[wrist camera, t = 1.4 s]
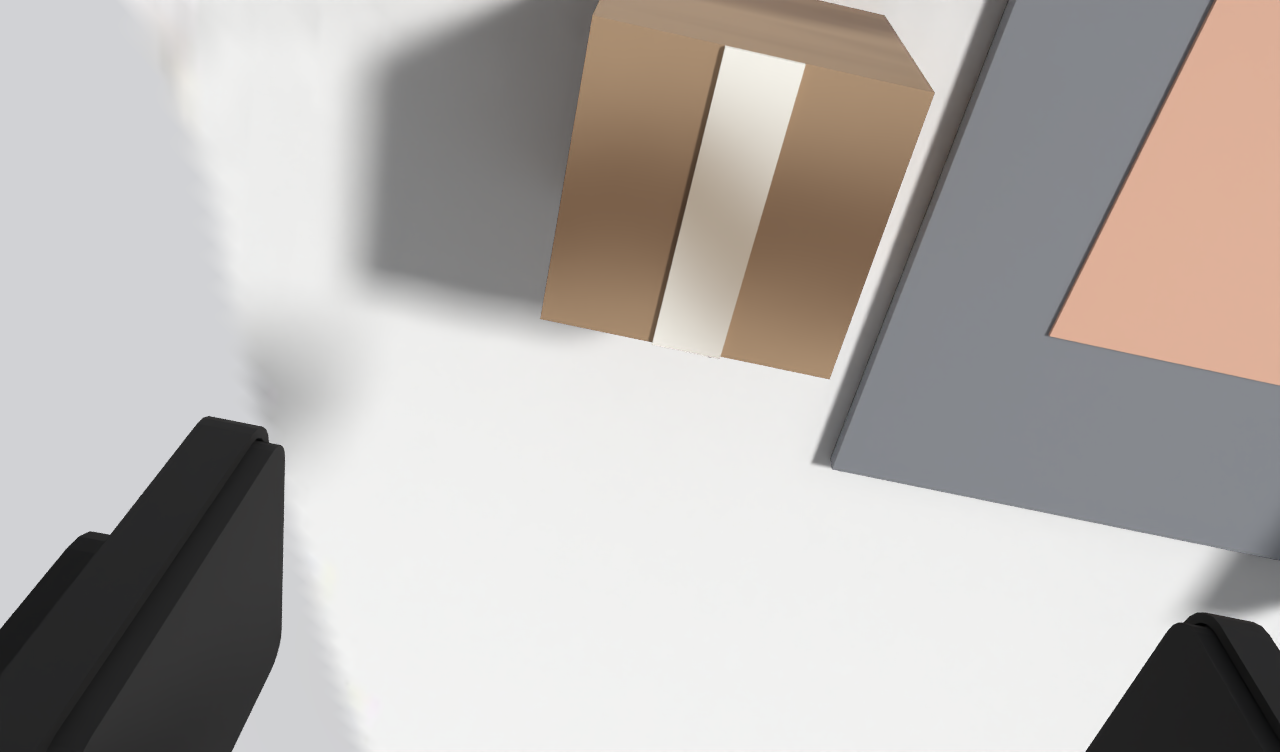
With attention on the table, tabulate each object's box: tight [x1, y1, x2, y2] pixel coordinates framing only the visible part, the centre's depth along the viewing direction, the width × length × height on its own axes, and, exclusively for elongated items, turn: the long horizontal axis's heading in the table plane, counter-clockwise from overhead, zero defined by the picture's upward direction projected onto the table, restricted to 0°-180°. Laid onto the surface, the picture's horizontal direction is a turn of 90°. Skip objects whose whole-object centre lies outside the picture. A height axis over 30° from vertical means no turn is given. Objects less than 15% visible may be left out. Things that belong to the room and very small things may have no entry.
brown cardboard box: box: [540, 0, 934, 379], centre depth 21 cm, size 6×6×6 cm
